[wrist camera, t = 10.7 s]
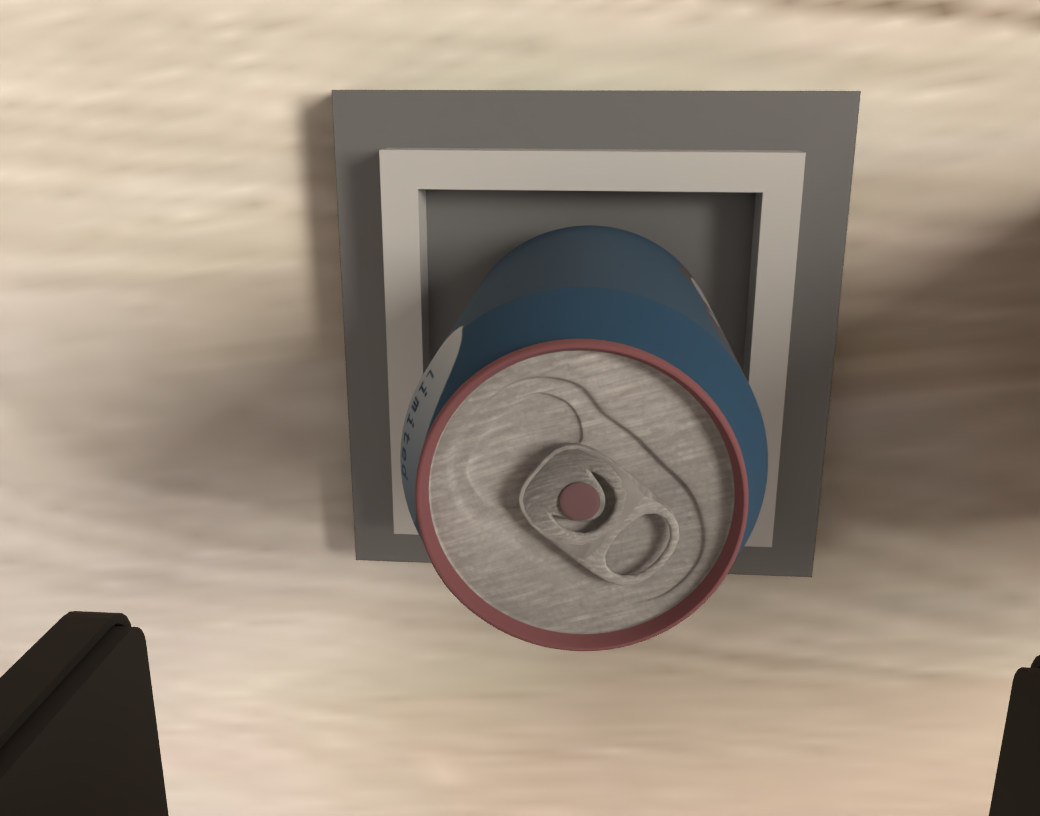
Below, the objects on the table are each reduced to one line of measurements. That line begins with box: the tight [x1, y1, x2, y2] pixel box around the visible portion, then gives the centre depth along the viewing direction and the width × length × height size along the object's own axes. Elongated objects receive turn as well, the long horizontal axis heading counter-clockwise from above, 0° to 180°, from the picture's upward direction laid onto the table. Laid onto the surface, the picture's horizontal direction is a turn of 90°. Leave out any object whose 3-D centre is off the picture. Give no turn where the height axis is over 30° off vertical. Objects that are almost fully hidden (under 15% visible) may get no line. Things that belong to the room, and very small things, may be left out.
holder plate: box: [332, 90, 861, 577], centre depth 28 cm, size 14×14×2 cm
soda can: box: [400, 225, 768, 651], centre depth 23 cm, size 7×7×12 cm
